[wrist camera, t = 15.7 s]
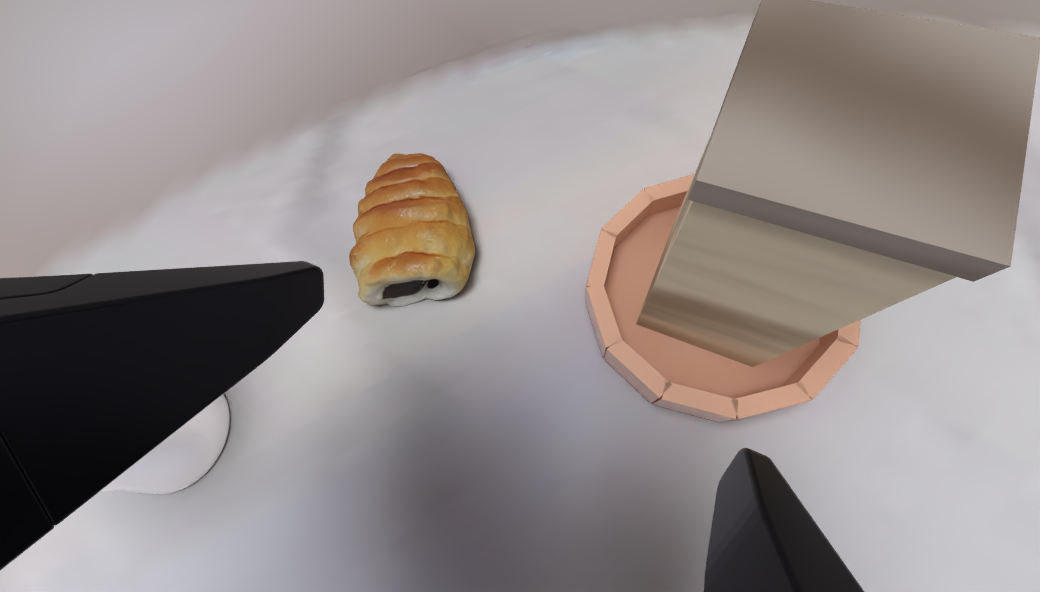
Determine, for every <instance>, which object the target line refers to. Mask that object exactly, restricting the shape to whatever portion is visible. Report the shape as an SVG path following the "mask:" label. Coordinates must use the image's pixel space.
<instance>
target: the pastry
mask: <svg viewBox="0 0 1040 592" xmlns="http://www.w3.org/2000/svg"><path fill="white" fill-rule="evenodd" d="M365 193H366V197H365V198H364V199H362V200H360V202H359V203H358V214H359V215H358V218H357V219H356V221H355V222H354V224H353V232H354V236H355V239H356V245H355V246H354V247H353V248H352V250H351V252H350V256H349V257H350V265H351V267H352V269H353V270H354V272H355V275H356V277H357V280H358V284H359V297H360V299H361V300H362V301H363V302H365V303H367V304H368V305H379V304H381V305H383V304H389V305H390V306H393V307H396V306H406V305H408V304H411V303H416V302H419V301H421V300H423V299H426V298H428V299H432V300H442V299H446V298H451V297H453V296H455V295H456V294H457V293H459V292H460V291H461V290H462V289H463V288H464V286H465V284H466V282H467V280H468V278H469V275H470V271H471V267H472V263H473V260H474V256H475V244H474V241H473V238H472V234H471V229H470V225H469V218H468V213H467V210H466V209H465V207H464V205H463V203H462V200H461V198H460V196H459V194H458V193H457V191H456V189H455V187H454V184H453V183H452V181H451V180H450V178H449V176H448V175H447V173H446V171H445V169H444V167H443V165H442V164H441V163H440V162H438V161H437V160H435V159H434V158H433V157H431V156H428V155H425V154H408V155H404V154H393V155H392V156H391V157H390V158H389V159H388V160H387V161H386V162H385V163H383V164H382V165H381V166H380V168H379V169H378V171H377V173H376V174H375V176H374V178H373V179H372V180H371V181H369V182H368V183H367V185H366V189H365Z"/></svg>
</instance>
